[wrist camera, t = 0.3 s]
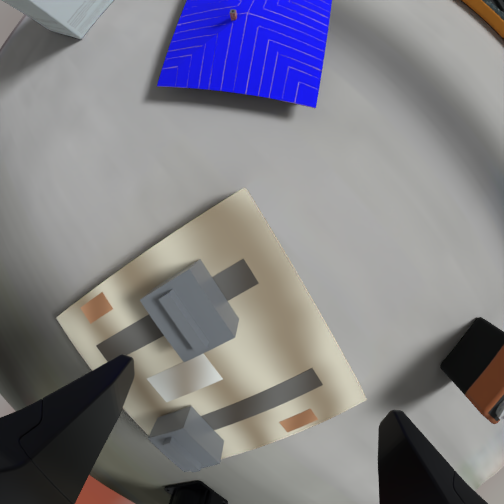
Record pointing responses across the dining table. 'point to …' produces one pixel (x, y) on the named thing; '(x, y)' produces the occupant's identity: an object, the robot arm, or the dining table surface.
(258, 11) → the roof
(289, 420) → the switch board
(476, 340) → the battery
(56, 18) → the supplement box
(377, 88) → the dining table surface
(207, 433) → the switch tab
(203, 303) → the switch tab
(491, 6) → the multimeter
